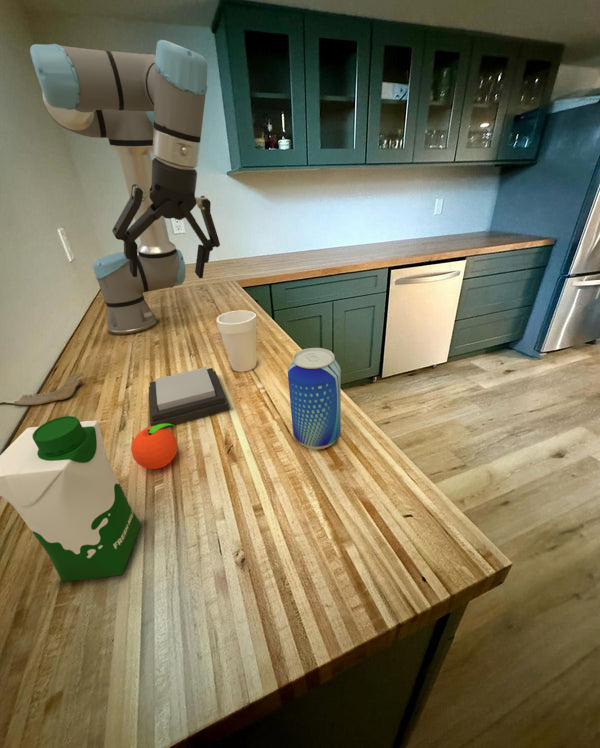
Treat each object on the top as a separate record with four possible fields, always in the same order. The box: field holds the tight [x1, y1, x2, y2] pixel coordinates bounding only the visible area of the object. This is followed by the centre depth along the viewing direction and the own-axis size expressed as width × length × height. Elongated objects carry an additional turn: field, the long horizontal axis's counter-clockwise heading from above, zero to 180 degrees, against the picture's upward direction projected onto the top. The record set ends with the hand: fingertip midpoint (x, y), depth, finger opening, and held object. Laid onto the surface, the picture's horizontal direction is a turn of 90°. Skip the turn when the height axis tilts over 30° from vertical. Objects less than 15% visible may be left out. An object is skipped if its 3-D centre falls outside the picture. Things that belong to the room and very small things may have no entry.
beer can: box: [287, 347, 342, 451], centre depth 56 cm, size 8×8×16 cm
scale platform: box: [154, 367, 216, 411], centre depth 71 cm, size 11×11×2 cm
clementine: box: [130, 423, 178, 470], centre depth 55 cm, size 8×7×7 cm
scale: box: [148, 367, 230, 428], centre depth 72 cm, size 15×15×3 cm
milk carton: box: [0, 415, 142, 583], centre depth 38 cm, size 9×9×20 cm
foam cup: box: [215, 309, 258, 372], centre depth 82 cm, size 10×9×13 cm
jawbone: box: [13, 371, 85, 406], centre depth 77 cm, size 9×20×2 cm, turn 118°
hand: (167, 274), depth 72 cm, fingers open, 13 cm apart
